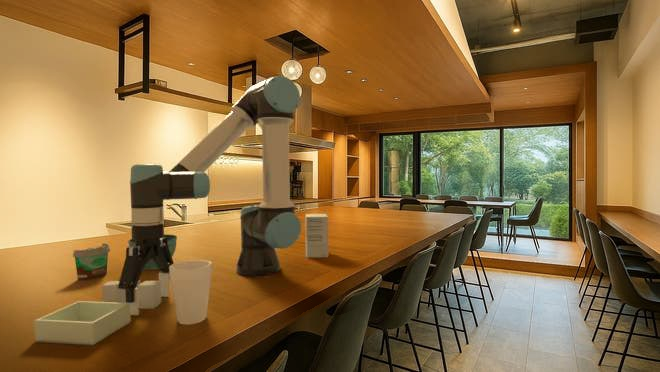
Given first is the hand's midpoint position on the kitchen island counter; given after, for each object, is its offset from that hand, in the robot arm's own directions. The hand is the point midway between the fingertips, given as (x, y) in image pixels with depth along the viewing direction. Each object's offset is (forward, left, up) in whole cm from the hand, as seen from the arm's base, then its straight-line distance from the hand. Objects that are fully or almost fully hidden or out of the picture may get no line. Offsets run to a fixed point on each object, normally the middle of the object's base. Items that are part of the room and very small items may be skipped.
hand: (149, 304), depth 94 cm
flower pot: (+22, -36, 0) cm, 42 cm away
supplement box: (-35, -61, 0) cm, 70 cm away
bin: (+4, +16, 0) cm, 17 cm away
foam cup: (-16, +7, 0) cm, 17 cm away
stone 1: (+12, -2, 0) cm, 12 cm away
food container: (+34, -23, 0) cm, 41 cm away
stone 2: (+6, 0, 0) cm, 6 cm away
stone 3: (0, 0, 0) cm, 0 cm away
